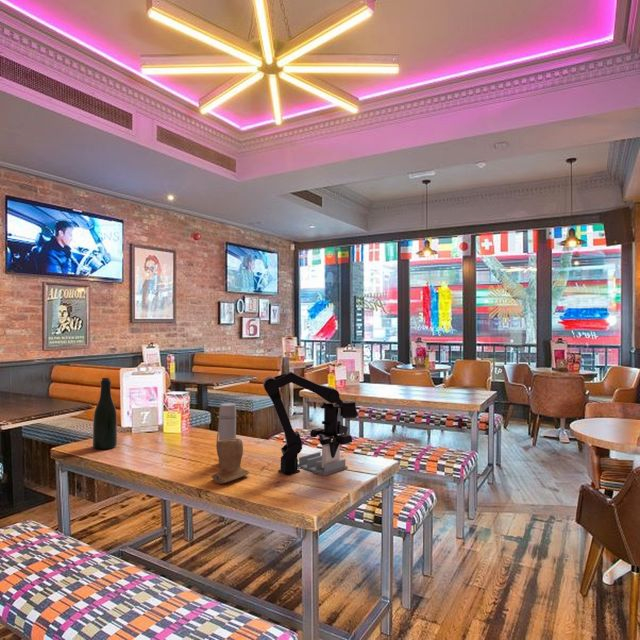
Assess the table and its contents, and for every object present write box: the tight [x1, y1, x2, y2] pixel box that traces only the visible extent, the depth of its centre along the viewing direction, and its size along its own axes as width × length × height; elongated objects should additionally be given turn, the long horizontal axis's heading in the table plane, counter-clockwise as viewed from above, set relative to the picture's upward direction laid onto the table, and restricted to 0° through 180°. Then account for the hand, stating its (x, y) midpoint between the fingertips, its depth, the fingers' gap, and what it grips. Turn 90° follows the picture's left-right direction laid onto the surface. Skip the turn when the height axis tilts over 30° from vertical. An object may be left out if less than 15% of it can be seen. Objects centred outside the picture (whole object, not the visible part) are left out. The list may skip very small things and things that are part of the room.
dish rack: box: [298, 451, 349, 476], centre depth 194 cm, size 14×16×4 cm
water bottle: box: [215, 402, 237, 465], centre depth 198 cm, size 9×8×25 cm
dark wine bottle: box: [92, 377, 118, 451], centre depth 221 cm, size 10×10×33 cm
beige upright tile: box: [321, 444, 341, 468], centre depth 191 cm, size 8×2×9 cm, turn 136°
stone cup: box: [210, 438, 250, 485], centre depth 179 cm, size 15×12×15 cm
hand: (330, 457), depth 191 cm, fingers closed on beige upright tile, 2 cm apart
